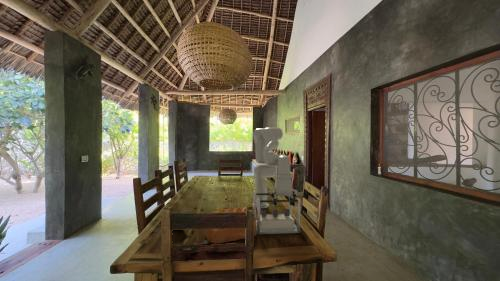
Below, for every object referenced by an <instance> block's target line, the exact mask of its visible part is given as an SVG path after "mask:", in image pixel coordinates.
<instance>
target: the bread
mask: <svg viewBox="0 0 500 281" xmlns="http://www.w3.org/2000/svg"><path fill="white" fill-rule="evenodd" d="M247 207H248V206H244V207H243V206H239V207H237V208H236V207H234V206H233V207H232V206H231V207H228V208H227V209H226V208H219V210H217V209H216V210H213V211H212V212H211V213H222V212H245V211H246V210H247ZM257 235H258V234H257V228H256V222H255V220H254V237H256V236H257ZM205 237H206V241H208V243H212V244H214V245H216V244H217V243H218V244H224V243H227V242H233V241H238V240H241V239H244V240H245V239H246V238H245V228H224V229H207V228H206V229H205ZM218 244H217V245H218Z"/></svg>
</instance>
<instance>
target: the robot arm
mask: <svg viewBox="0 0 500 281" xmlns="http://www.w3.org/2000/svg"><path fill="white" fill-rule="evenodd" d="M283 133H284V132H283V130H282V129H281V128H280V127H264V128H262V127H261V128H256V129H254V130H253V133H252V138H253V143H254V145H255V147H254V148H255V152H254V153H255V162H256V163H257V164H258V165H256V166H255V167H254V168H253V176H254V192H256V193H270V195H269V196H270V197H272V200H277V197H284V196H286V197H289V196H290V200H295V199H294V198H296V196H297V194H298V190H296V189H294V188H293V183H292V178H293V174H291V157H290V156H289V155H286V154H283V153H282V154H276V153H275V152H274V150H276V149H277V148H278V147H279V144H280V142H279V140H281V139H282V138H283V135H284V134H283ZM259 164H260V165H259ZM276 175H277V177H276ZM275 177H276V178H275ZM265 178H275V180H274V187H273V188H272V189H270V190H268V183H267V181H266V179H265ZM293 192H294V193H293ZM272 193H275V194H274V195H273V194H272ZM257 199H261V200H268V195H256V209H257ZM272 203H273V205H274V206H275V207H276V206H277V202H272ZM293 204H294V202H290V205H292V206H293ZM251 205H252V207H253V203H252V204H251ZM269 205H270V204H269V203H268V202H261V203H260V209H267V208H269Z"/></svg>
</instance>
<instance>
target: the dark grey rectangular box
mask: <svg viewBox="0 0 500 281" xmlns="http://www.w3.org/2000/svg"><path fill="white" fill-rule="evenodd" d="M272 214H273V217H278V214H279V212H278V209H272Z"/></svg>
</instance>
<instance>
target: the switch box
mask: <svg viewBox="0 0 500 281" xmlns="http://www.w3.org/2000/svg"><path fill="white" fill-rule="evenodd" d="M266 215H267V217H261V214H260V230H282V229H294V224H295V219H294V218H293V216H292V217H291V215H290V214H289V216H284V213H278V217H273V213H272V214H270V213H269V214H266Z"/></svg>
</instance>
